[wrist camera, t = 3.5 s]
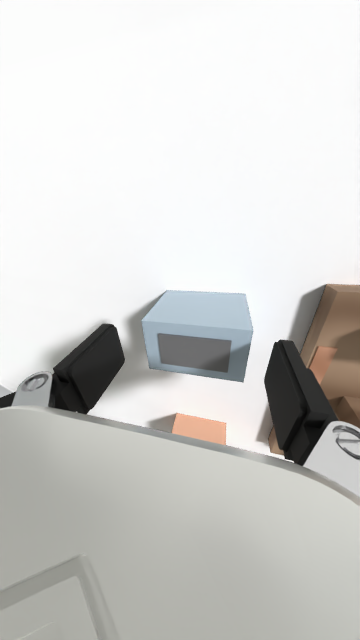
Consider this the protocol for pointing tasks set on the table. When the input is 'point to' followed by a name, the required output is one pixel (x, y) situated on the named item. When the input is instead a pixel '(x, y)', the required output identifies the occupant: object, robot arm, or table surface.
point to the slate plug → (199, 334)
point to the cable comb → (335, 353)
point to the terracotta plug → (200, 428)
